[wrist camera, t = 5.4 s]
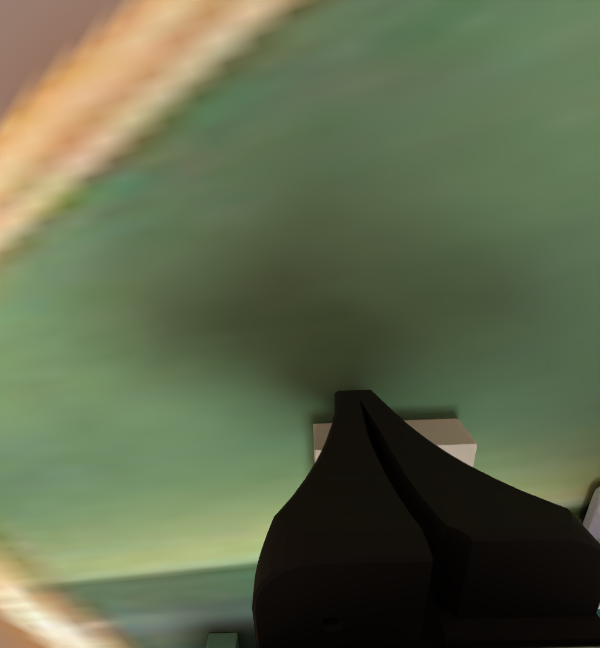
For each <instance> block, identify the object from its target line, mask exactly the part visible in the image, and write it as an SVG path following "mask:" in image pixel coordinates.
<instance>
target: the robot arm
mask: <svg viewBox="0 0 600 648" xmlns="http://www.w3.org/2000/svg"><path fill="white" fill-rule="evenodd" d="M598 609H600V486H599V487H598V488H597V489H596V490H595V492H594V494H593V497H592V500H591V502H590V505H589V508H588V511H587V513H586V516H585V519H584V521H583V524H582V523H581V522H580V521H579V520H578V519H577V518H576V517H575V516H574V515H573V514H572V513H571V512H570V511H569V510H568V509H567V508H564V507H562V506H559V505H557V504H554V503H551V502H549V501H546V500H544V499H541V498H539V497H536V496H534V495H531V494H528V493H526V492H523V491H521V490H519V489H516V488H514V487H512V486H510V485H508V484H506V483H503V482H501V481H499V480H497V479H495V478H493V477H491V476H489V475H487V474H485V473H483V472H481V471H479V470H477V469H475V468H473V467H472V466H470V465H468V464H466V463H464V462H462V461H461V460H459V459H457V458H456V457H454V456H452V455H451V454H449V453H447V452H446V451H444V450H443V449H441V448H440V447H438V446H437V445H435V444H434V443H432V442H431V441H429V440H428V439H427V438H425V437H424V436H423V435H421V434H420V433H419V432H417V431H416V430H415V429H414V428H412V427H411V426H410V425H409V424H407V423H406V422H405V421H404V420H403V419H401V418H400V417H399V416H398V415H397V414H396V413H395V412H393V411H392V410H391V409H390V408H389V407H388V406H387V405H386V404H385V403H384V402H383V401H382V400H381V399H380V398H379V397H378V396H377V395H376V394H375V393H373V392H372V391H371V390H349V391H337V392H336V393H335V413H334V417H333V421H332V425H331V428H330V431H329V434H328V436H327V439H326V442H325V444H324V446H323V448H322V450H321V453H320V455H319V457H318V458H317V460H316V462H315V464H314V466H313V467H312V469H311V471H310V472H309V474H308V475H307V477H306V478H305V480H304V481H303V483H302V484H301V485H300V487H299V488H298V489H297V491H296V492H295V494H294V495H293V496H292V497H291V499H290V500H289V501H288V502H287V503H286V504H285V505H284V506H283V508H282V509H281V510H280V511H279V512H278V513H277V514H276V515H275V516H274V518H273V521H272V523H271V526H270V528H269V531H268V533H267V536H266V539H265V541H264V544H263V547H262V550H261V553H260V557H259V561H258V565H257V569H256V574H255V582H254V592H253V603H252V611H253V619H254V628H255V636H256V645H257V648H600V618H599V616H598V615H597V614H596V612H597V610H598Z"/></svg>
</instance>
